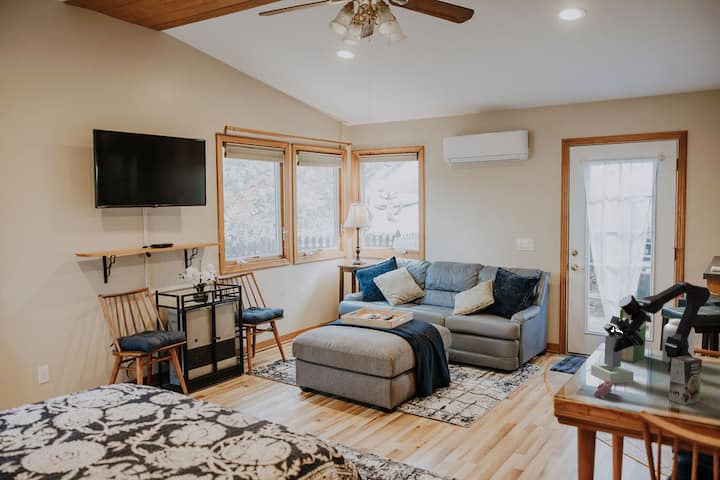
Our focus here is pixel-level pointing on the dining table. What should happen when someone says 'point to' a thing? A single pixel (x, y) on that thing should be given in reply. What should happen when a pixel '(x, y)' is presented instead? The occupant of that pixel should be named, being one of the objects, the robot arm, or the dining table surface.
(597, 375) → the well block
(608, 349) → the gray rectangular block
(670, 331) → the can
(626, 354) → the hardback book
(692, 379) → the coffee box
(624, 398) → the dining table surface
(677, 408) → the dining table surface
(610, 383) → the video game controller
